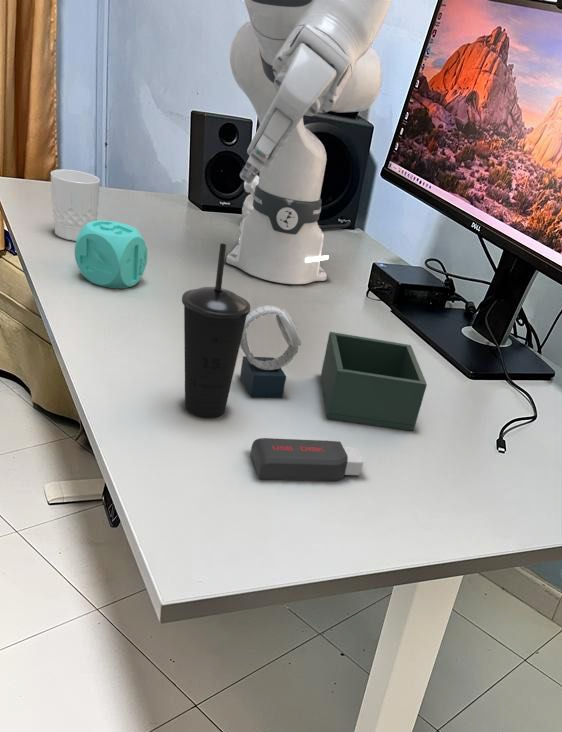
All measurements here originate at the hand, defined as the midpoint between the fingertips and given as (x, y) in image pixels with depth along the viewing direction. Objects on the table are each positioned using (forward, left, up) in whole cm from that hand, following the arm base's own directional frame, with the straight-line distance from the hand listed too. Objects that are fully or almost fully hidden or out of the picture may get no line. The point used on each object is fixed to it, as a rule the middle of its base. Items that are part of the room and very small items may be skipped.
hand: (252, 166), depth 94 cm
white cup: (-41, -28, -25) cm, 56 cm away
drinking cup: (+17, -2, -25) cm, 30 cm away
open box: (+9, +19, -25) cm, 33 cm away
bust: (-69, +4, -25) cm, 74 cm away
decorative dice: (-22, -19, -25) cm, 39 cm away
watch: (+9, +5, -25) cm, 27 cm away
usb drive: (+28, +10, -25) cm, 39 cm away
